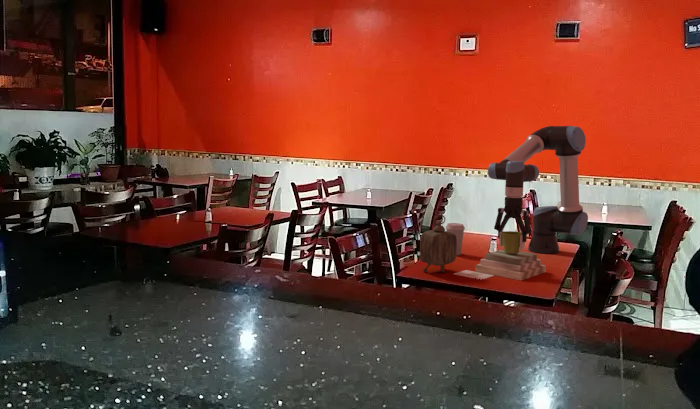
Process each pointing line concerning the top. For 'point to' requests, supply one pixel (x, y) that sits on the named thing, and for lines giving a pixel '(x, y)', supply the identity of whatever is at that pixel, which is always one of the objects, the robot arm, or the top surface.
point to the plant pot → (511, 241)
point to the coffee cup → (457, 234)
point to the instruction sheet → (473, 274)
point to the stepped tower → (511, 265)
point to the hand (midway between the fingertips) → (511, 247)
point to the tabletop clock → (438, 246)
